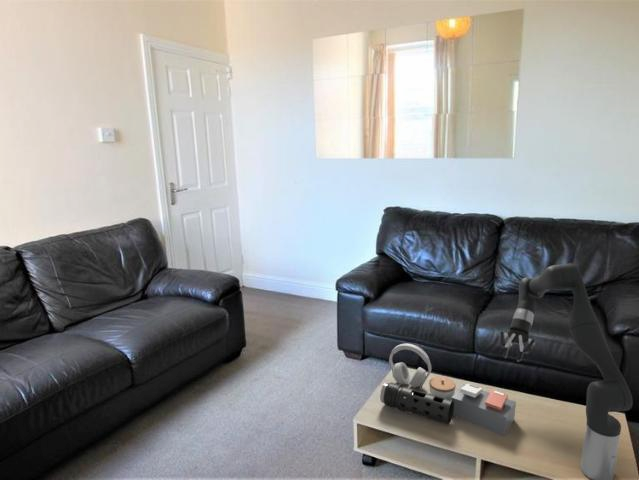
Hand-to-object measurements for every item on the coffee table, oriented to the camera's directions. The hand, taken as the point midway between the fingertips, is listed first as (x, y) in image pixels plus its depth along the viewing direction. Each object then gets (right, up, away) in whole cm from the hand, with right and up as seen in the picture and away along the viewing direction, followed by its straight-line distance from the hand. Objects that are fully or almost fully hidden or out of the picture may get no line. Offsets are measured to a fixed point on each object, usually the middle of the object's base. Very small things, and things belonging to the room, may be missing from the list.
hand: (511, 359), depth 178 cm
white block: (-18, -12, -3) cm, 22 cm away
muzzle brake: (-39, -22, -1) cm, 45 cm away
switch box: (-13, -22, -4) cm, 26 cm away
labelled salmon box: (-10, -14, -9) cm, 19 cm away
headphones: (-38, -17, +19) cm, 46 cm away
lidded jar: (-26, -20, +9) cm, 34 cm away
